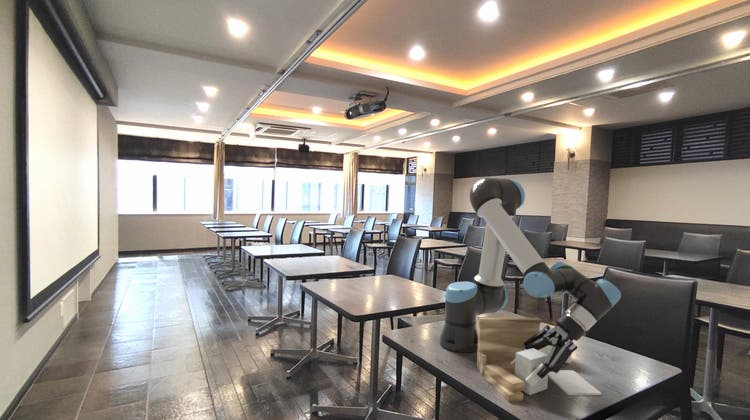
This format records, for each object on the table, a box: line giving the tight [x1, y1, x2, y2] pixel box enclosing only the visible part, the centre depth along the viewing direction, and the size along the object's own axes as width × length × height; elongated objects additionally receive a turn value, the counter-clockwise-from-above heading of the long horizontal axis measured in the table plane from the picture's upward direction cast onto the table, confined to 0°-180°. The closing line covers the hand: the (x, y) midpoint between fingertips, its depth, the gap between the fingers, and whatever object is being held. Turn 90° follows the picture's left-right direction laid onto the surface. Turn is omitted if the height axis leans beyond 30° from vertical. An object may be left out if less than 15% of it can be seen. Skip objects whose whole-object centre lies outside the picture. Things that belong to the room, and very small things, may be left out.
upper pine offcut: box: [485, 364, 524, 392], centre depth 108 cm, size 12×4×2 cm, turn 22°
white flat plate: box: [548, 369, 602, 396], centre depth 112 cm, size 14×10×1 cm
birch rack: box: [476, 316, 543, 376], centre depth 118 cm, size 5×21×17 cm, turn 93°
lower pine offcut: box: [483, 371, 524, 402], centre depth 108 cm, size 14×4×2 cm, turn 11°
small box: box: [514, 348, 549, 396], centre depth 108 cm, size 8×6×10 cm
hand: (520, 374), depth 108 cm, fingers open, 9 cm apart
